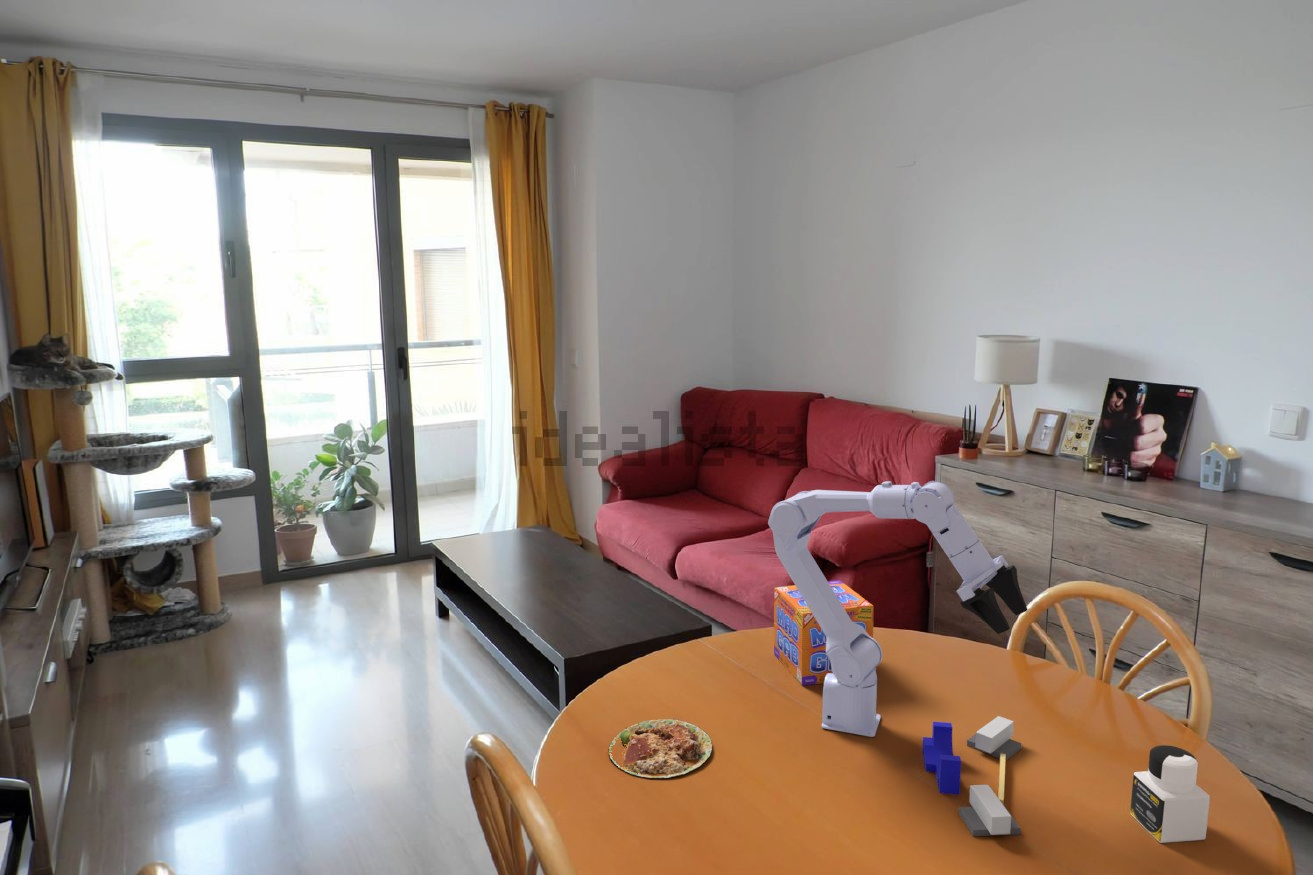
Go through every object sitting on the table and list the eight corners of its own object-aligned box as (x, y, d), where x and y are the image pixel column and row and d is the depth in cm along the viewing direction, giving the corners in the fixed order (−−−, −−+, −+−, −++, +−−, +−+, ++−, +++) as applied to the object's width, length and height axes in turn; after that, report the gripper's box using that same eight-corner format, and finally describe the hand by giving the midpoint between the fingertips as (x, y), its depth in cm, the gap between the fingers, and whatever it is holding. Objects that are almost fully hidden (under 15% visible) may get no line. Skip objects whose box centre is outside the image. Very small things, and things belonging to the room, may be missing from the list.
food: (686, 792, 140) (685, 775, 140) (592, 769, 148) (591, 753, 147) (727, 737, 156) (726, 721, 156) (640, 719, 164) (639, 704, 163)
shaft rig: (955, 833, 128) (957, 809, 127) (968, 730, 156) (969, 711, 156) (1020, 847, 125) (1021, 823, 124) (1021, 739, 153) (1022, 719, 152)
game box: (839, 646, 193) (840, 579, 190) (872, 677, 178) (874, 604, 175) (773, 654, 189) (773, 586, 187) (801, 686, 175) (802, 613, 172)
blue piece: (922, 752, 150) (923, 720, 149) (949, 755, 149) (951, 722, 148) (929, 792, 138) (931, 758, 137) (959, 795, 138) (961, 761, 136)
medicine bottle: (1128, 814, 132) (1135, 741, 130) (1173, 810, 132) (1180, 738, 130) (1159, 844, 125) (1166, 767, 123) (1206, 840, 125) (1214, 764, 123)
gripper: (964, 554, 135) (1016, 631, 132) (1001, 524, 145) (1049, 595, 143) (930, 571, 140) (979, 646, 137) (967, 542, 150) (1014, 611, 147)
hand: (1013, 621), depth 140 cm, fingers open, 7 cm apart
